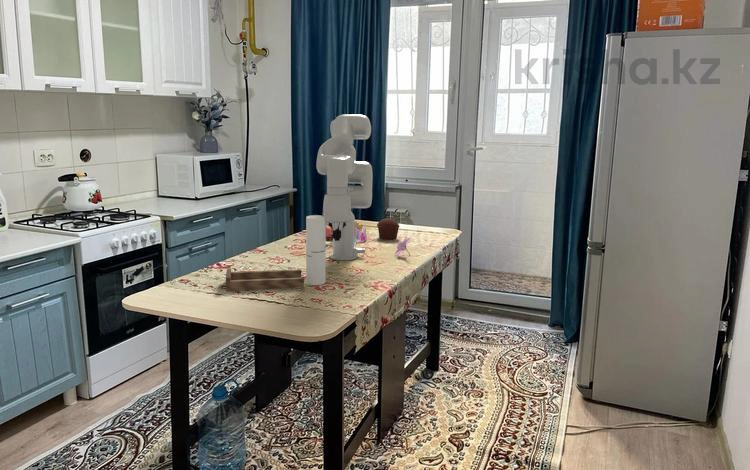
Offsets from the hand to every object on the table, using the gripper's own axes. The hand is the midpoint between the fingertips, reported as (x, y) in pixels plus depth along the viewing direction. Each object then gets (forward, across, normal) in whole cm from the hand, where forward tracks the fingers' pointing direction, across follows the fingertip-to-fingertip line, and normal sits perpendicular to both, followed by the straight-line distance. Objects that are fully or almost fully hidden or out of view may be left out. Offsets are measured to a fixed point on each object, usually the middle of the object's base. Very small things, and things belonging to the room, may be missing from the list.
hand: (336, 240), depth 210 cm
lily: (+16, -35, -32) cm, 50 cm away
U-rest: (+16, +26, 0) cm, 30 cm away
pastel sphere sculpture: (+17, -13, -65) cm, 69 cm away
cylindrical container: (+16, +8, 0) cm, 18 cm away
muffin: (+16, -37, -67) cm, 78 cm away
